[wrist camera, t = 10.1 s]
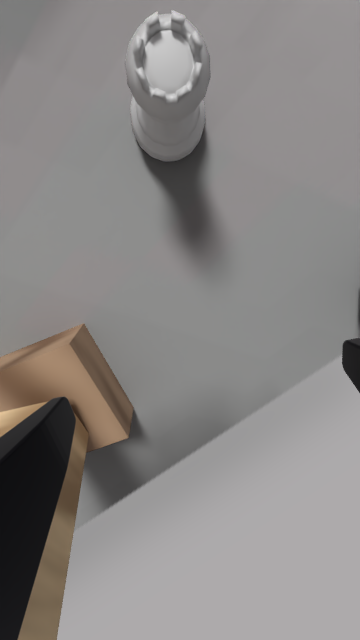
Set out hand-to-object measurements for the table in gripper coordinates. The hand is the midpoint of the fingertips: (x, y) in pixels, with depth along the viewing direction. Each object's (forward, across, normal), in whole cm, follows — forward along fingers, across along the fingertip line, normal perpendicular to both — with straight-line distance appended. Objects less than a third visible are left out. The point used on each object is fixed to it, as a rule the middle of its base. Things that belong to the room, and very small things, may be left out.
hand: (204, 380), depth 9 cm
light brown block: (+14, +12, +7) cm, 19 cm away
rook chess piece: (+13, -1, -10) cm, 17 cm away
